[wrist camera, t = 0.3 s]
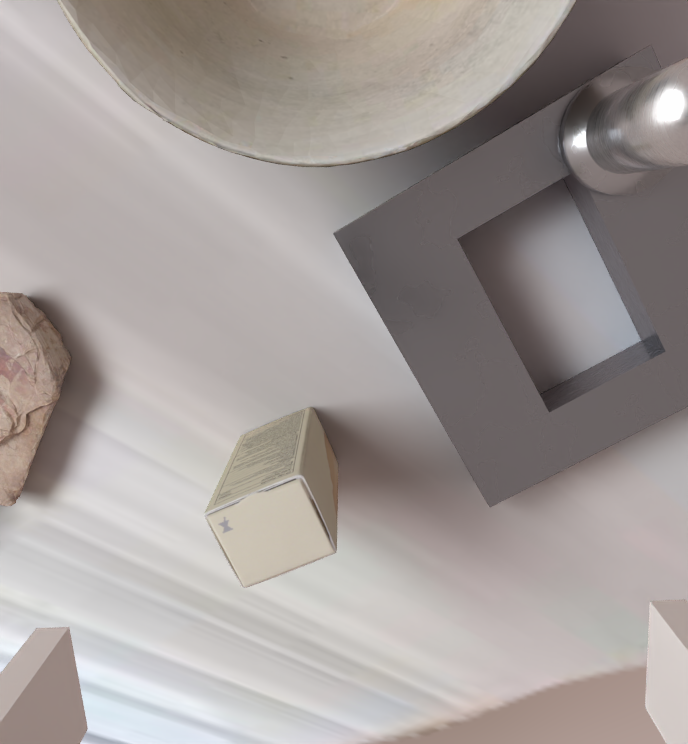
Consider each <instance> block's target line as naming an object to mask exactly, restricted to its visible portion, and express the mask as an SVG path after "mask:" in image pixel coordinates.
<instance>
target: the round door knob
mask: <svg viewBox="0 0 688 744" xmlns="http://www.w3.org/2000/svg"><path fill="white" fill-rule="evenodd" d="M560 146H561V152H562V156H563V159H564V162H565V164H566V166H567V168H568V170H569V172H570V173H571V174H572V176H573V177H574V178H575V179H576V180H577V181H578V182H579V183H580V184H582V185H583V186H584V187H586V188H588V189H589V190H591V191H594V192H597V193H600V194H604V195H628V194H633V193H637V192H640V191H643V190H645V189H647V188H649V187H651V186H653V185H655V184H656V183H658V182H659V181H660V180H661V179H663V178H664V177H665V176H666V175H667V174H668V173H669V172H670V171H671V170H672V168H673V167H679V166H686V165H688V57H687V58H685V59H683V60H681V61H679V62H677V63H674V64H672V65H670V66H668V67H666V68H664V69H662V70H659V71H656V70H653V69H651V68H647V67H643V66H624V67H619V68H615V69H612V70H610V71H607V72H605V73H603V74H601V75H600V76H598V77H596V78H594V79H593V80H591V81H590V82H588V83H587V84H586V85H585V86H584V87H583V88H581V90H580V91H579V92H578V93H577V94H576V95H575V97H574V98H573V99H572V101H571V102H570V104H569V106H568V108H567V110H566V112H565V115H564V117H563V121H562V125H561V131H560Z"/></svg>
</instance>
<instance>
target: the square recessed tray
mask: <svg viewBox="0 0 688 744" xmlns="http://www.w3.org/2000/svg"><path fill="white" fill-rule="evenodd" d="M624 66H643V67H647V68H651V69H653V70H656V71H659V70H662V69H661V67H660V64H659V62H658V60H657V57H656V55H655V53H654V51H653V48H652V46H651V45H650V46H648V47H646V48H644V49H643V50H641V51H639V52H637V53H636V54H634V55H632V56H630V57H629V58H627V59H625V60H623V61H622V62H620V63H618V64H617V65H615V66H613V67H612V68H610V69H608V70H607V71H610V70H612V69H615V68H619V67H624ZM607 71H605V72H607ZM605 72H603V73H605ZM603 73H602V74H603ZM600 75H601V74H600ZM600 75H598V76H600ZM598 76H596V77H598ZM596 77H595V78H596ZM593 79H594V78H593ZM593 79H591V80H593ZM591 80H590V81H591ZM590 81H588V82H590ZM588 82H586V83H585V84H583V85H581V86H580V87H578V88H576V89H575V90H573V91H571V92H570V93H568V94H566V95H565V96H563V97H561V98H560V99H558V100H556V101H554V102H553V103H551V104H549V105H548V106H546V107H544V108H543V109H541V110H539V111H538V112H536V113H534V114H533V115H531V116H529V117H528V118H526V119H524V120H523V121H521V122H519V123H517V124H516V125H514V126H512V127H511V128H509V129H507V130H506V131H504V132H502V133H501V134H499V135H497V136H496V137H494V138H492V139H491V140H489V141H487V142H486V143H484V144H482V145H481V146H479V147H477V148H475V149H474V150H472V151H470V152H469V153H467V154H465V155H464V156H462V157H460V158H459V159H457V160H455V161H454V162H452V163H450V164H449V165H447V166H445V167H444V168H442V169H440V170H439V171H437V172H435V173H433V174H432V175H430V176H428V177H427V178H425V179H423V180H422V181H420V182H418V183H417V184H415V185H413V186H412V187H410V188H408V189H407V190H405V191H403V192H402V193H400V194H398V195H397V196H395V197H393V198H391V199H390V200H388V201H386V202H385V203H383V204H381V205H380V206H378V207H376V208H375V209H373V210H371V211H370V212H368V213H366V214H365V215H363V216H361V217H360V218H358V219H356V220H355V221H353V222H351V223H349V224H348V225H346V226H344V227H343V228H341V229H339V230H338V231H336V232H335V233H334V236H335V238H336V239H337V241H338V243H339V245H340V246H341V248H342V250H343V252H344V253H345V255H346V257H347V259H348V260H349V262H350V264H351V266H352V267H353V269H354V271H355V273H356V274H357V276H358V278H359V280H360V281H361V283H362V285H363V287H364V288H365V290H366V292H367V294H368V295H369V297H370V299H371V301H372V302H373V304H374V306H375V308H376V309H377V311H378V313H379V315H380V316H381V318H382V320H383V322H384V323H385V325H386V327H387V329H388V330H389V332H390V334H391V336H392V337H393V339H394V341H395V343H396V344H397V346H398V348H399V350H400V351H401V353H402V355H403V357H404V358H405V360H406V362H407V364H408V365H409V367H410V369H411V371H412V372H413V374H414V376H415V378H416V379H417V381H418V383H419V385H420V386H421V388H422V390H423V392H424V393H425V395H426V397H427V399H428V400H429V402H430V404H431V406H432V407H433V409H434V411H435V413H436V414H437V416H438V418H439V420H440V421H441V423H442V425H443V427H444V428H445V430H446V432H447V434H448V435H449V437H450V439H451V441H452V442H453V444H454V446H455V448H456V449H457V451H458V453H459V455H460V456H461V458H462V460H463V462H464V463H465V465H466V467H467V469H468V470H469V472H470V474H471V476H472V477H473V479H474V481H475V483H476V484H477V486H478V488H479V490H480V491H481V493H482V495H483V497H484V498H485V500H486V502H487V504H488V505H489V507H492V506H493V505H495V504H497V503H499V502H501V501H503V500H505V499H507V498H509V497H511V496H513V495H515V494H517V493H519V492H521V491H523V490H525V489H527V488H529V487H531V486H533V485H535V484H537V483H539V482H541V481H543V480H544V479H546V478H548V477H550V476H552V475H554V474H556V473H558V472H560V471H562V470H564V469H566V468H568V467H570V466H572V465H574V464H576V463H578V462H580V461H582V460H584V459H586V458H588V457H590V456H592V455H594V454H596V453H597V452H599V451H601V450H603V449H605V448H607V447H609V446H611V445H613V444H615V443H617V442H619V441H621V440H623V439H625V438H627V437H629V436H631V435H633V434H635V433H637V432H639V431H641V430H643V429H645V428H647V427H648V426H650V425H652V424H654V423H656V422H658V421H660V420H662V419H664V418H666V417H668V416H670V415H672V414H674V413H676V412H678V411H680V410H682V409H684V408H686V407H688V165H686V166H679V167H673V168H672V170H671V171H670V172H669V173H668V174H667V175H666V176H665V177H664V178H663V179H661V180H660V181H659V182H658V183H656V184H655V185H653V186H651V187H649V188H647V189H645V190H643V191H640V192H637V193H633V194H628V195H604V194H600V193H597V192H594V191H591V190H589V189H588V188H586V187H584V186H583V185H582V184H580V183H579V182H578V181H577V180H576V179H575V178H574V177H573V176H572V174H571V173H570V172H569V170H568V168H567V166H566V164H565V162H564V159H563V156H562V152H561V146H560V131H561V125H562V121H563V117H564V115H565V112H566V110H567V108H568V106H569V104H570V102H571V101H572V99H573V98H574V97H575V95H576V94H577V93H578V92H579V91H580V90H581V88H583V87H584V86H585V85H586V84H587V83H588ZM562 178H564V180H565V182H566V184H567V186H568V189H569V191H570V193H571V195H572V197H573V199H574V201H575V203H576V205H577V207H578V209H579V211H580V213H581V216H582V218H583V220H584V222H585V224H586V226H587V228H588V230H589V232H590V234H591V236H592V238H593V240H594V242H595V245H596V247H597V249H598V251H599V253H600V255H601V257H602V259H603V261H604V263H605V265H606V267H607V269H608V272H609V274H610V276H611V278H612V280H613V282H614V284H615V286H616V288H617V290H618V292H619V294H620V296H621V299H622V301H623V303H624V305H625V307H626V309H627V311H628V313H629V315H630V317H631V319H632V321H633V323H634V325H635V328H636V330H637V332H638V334H639V336H640V338H641V340H642V341H641V342H639V343H637V344H635V345H633V346H631V347H629V348H627V349H625V350H624V351H622V352H620V353H618V354H616V355H614V356H612V357H610V358H608V359H607V360H605V361H603V362H601V363H599V364H597V365H595V366H593V367H591V368H590V369H588V370H586V371H584V372H582V373H580V374H578V375H576V376H574V377H573V378H571V379H569V380H567V381H565V382H563V383H561V384H559V385H557V386H556V387H554V388H552V389H550V390H548V391H546V392H544V393H542V394H539V393H538V391H537V389H536V387H535V385H534V383H533V381H532V379H531V377H530V376H529V374H528V372H527V370H526V368H525V366H524V364H523V362H522V360H521V359H520V357H519V355H518V353H517V351H516V349H515V347H514V345H513V343H512V342H511V340H510V338H509V336H508V334H507V332H506V330H505V328H504V326H503V325H502V323H501V321H500V319H499V317H498V315H497V313H496V311H495V309H494V308H493V306H492V304H491V302H490V300H489V298H488V296H487V294H486V292H485V291H484V289H483V287H482V285H481V283H480V281H479V279H478V277H477V275H476V274H475V272H474V270H473V268H472V266H471V264H470V262H469V260H468V258H467V257H466V255H465V253H464V251H463V249H462V247H461V245H460V243H459V241H458V240H457V239H458V238H460V237H462V236H463V235H465V234H467V233H468V232H470V231H472V230H474V229H475V228H477V227H479V226H481V225H482V224H484V223H486V222H488V221H489V220H491V219H493V218H494V217H496V216H498V215H500V214H501V213H503V212H505V211H507V210H508V209H510V208H512V207H514V206H515V205H517V204H519V203H521V202H522V201H524V200H526V199H527V198H529V197H531V196H533V195H534V194H536V193H538V192H540V191H541V190H543V189H545V188H547V187H548V186H550V185H552V184H553V183H555V182H557V181H559V180H560V179H562Z"/></svg>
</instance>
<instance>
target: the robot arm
mask: <svg viewBox="0 0 688 744" xmlns="http://www.w3.org/2000/svg"><path fill="white" fill-rule="evenodd" d="M645 708H646V710H647V712H648V713H649V715H650V717H651V718H652V720H653V722H654V723H655V725H656V727H657V729H658V730H659V732H660V734H661V735H662V737H663V739H664V741H665V742H666V744H688V602H687V601H686V600H663V601H650V610H649V632H648V654H647V676H646V698H645ZM87 729H88V728H87V722H86V717H85V711H84V706H83V700H82V695H81V689H80V684H79V679H78V673H77V668H76V662H75V657H74V651H73V646H72V640H71V635H70V629H69V627H57V628H36V630H35V631H34V632H33V633H32V635H31V636H30V637H29V638H28V640H27V641H26V642H25V643H24V645H23V646H22V647H21V648H20V650H19V651H18V652H17V653H16V655H15V656H14V657H13V658H12V660H11V661H10V662H9V663H8V665H7V666H6V667H5V668H4V670H3V671H2V672H1V673H0V744H80V742H81V740H82V739H83V737H84V735H85V733H86V731H87Z"/></svg>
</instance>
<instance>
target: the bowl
mask: <svg viewBox="0 0 688 744" xmlns="http://www.w3.org/2000/svg"><path fill="white" fill-rule="evenodd" d="M57 1H58V3H59V5H60V7H61V9H62V10H63V12H64V14H65V16H66V18H67V20H68V21H69V23H70V24H71V26H72V27H73V29H74V31H75V32H76V34H77V35H78V37H79V38H80V40H81V41H82V42H83V44H84V45H85V47H86V48H87V49H88V51H89V52H90V53H91V54H92V55H93V56H94V58H95V59H96V60H97V61H98V62H99V63H100V64H101V66H102V67H103V68H104V69H105V70H106V71H107V72H108V74H109V75H110V76H111V77H112V78H113V79H114V80H115V81H116V82H117V84H118V85H119V87H120V88H121V89H122V90H123V91H124V92H125V93H126V94H127V95H129V96H130V97H131V98H132V99H133V100H134V101H135V102H137V103H138V104H140V105H141V106H143V107H144V108H146V109H147V110H149V111H151V112H153V113H155V114H156V115H158V116H159V117H161V118H162V119H163V120H164V121H167V122H168V123H170V124H172V125H173V126H175V127H176V128H179V129H181V130H182V131H184V132H186V133H188V134H190V135H192V136H194V137H196V138H198V139H200V140H202V141H204V142H206V143H209V144H211V145H214V146H216V147H218V148H221V149H223V150H226V151H229V152H232V153H236V154H239V155H242V156H246V157H249V158H253V159H257V160H261V161H266V162H270V163H275V164H282V165H291V166H301V167H332V166H338V165H349V164H355V163H360V162H365V161H370V160H374V159H379V158H383V157H387V156H391V155H395V154H398V153H401V152H404V151H407V150H410V149H413V148H415V147H417V146H420V145H422V144H424V143H427V142H429V141H431V140H433V139H435V138H437V137H439V136H441V135H442V134H444V133H446V132H448V131H450V130H452V129H454V128H456V127H457V126H459V125H461V124H462V123H464V122H465V121H467V120H468V119H470V118H471V117H473V116H474V115H476V114H477V113H479V112H480V111H481V110H483V109H484V108H486V107H487V106H488V105H490V104H491V103H492V102H494V101H495V100H496V99H497V98H499V97H500V96H501V95H502V94H503V93H504V92H505V91H506V90H508V89H509V88H510V87H511V86H513V85H514V84H515V82H516V81H517V80H518V79H519V78H520V77H521V76H522V75H523V74H524V73H525V72H526V71H527V70H528V69H529V68H530V67H531V66H532V65H533V64H534V63H535V62H536V60H537V59H538V58H539V56H540V55H541V54H542V53H543V51H544V50H545V49H546V47H547V46H548V45H549V43H550V42H551V41H552V40H553V38H554V37H555V35H556V33H557V31H558V29H559V28H560V26H561V25H562V23H563V22H564V21H565V19H566V18H567V16H568V15H569V14H570V12H571V10H572V8H573V7H574V5H575V3H576V1H577V0H57Z"/></svg>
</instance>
